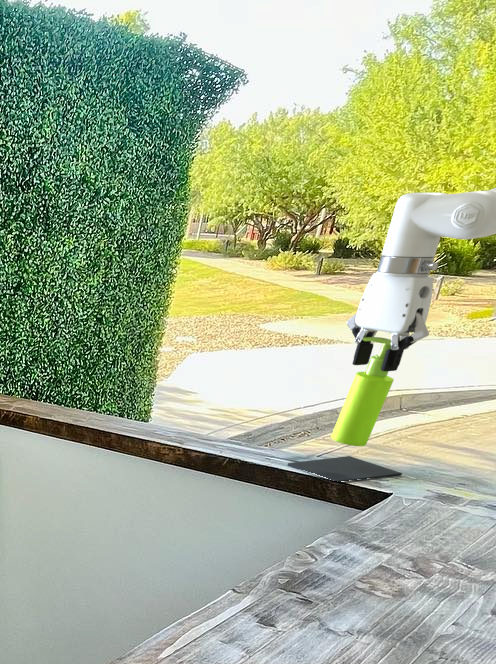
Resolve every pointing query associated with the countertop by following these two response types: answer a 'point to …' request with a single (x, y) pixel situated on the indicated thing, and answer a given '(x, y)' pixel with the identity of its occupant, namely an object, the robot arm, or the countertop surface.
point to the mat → (344, 468)
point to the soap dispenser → (364, 400)
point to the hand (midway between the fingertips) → (374, 366)
